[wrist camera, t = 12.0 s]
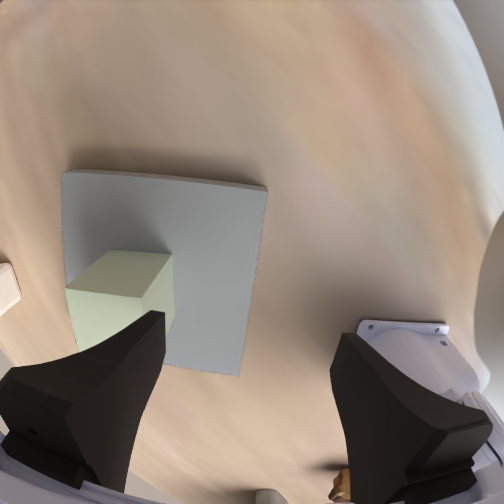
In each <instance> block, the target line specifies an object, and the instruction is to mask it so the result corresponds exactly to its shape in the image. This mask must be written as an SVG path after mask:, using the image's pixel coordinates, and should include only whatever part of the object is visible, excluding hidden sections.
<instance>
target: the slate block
mask: <svg viewBox="0 0 504 504" xmlns="http://www.w3.org/2000/svg"><path fill="white" fill-rule="evenodd" d="M267 196H268V190H267V187H263V186H256V185H249V184H242V183H234V182H226V181H218V180H210V179H201V178H192V177H183V176H173V175H162V174H151V173H139V172H126V171H111V170H94V169H76V170H71V171H66V172H62V234H63V251H64V263H65V274H66V283H67V285H68V284H69V283H71V282H72V281H73V280H74V279H75V278H76V277H78V276H79V275H80V274H81V273H82V272H83V271H85V270H86V269H87V268H88V267H89V266H91V265H92V264H93V263H94V262H95V261H97V260H98V259H99V258H100V257H101V256H103V255H104V254H105V253H106V252H108V251H109V250H121V251H135V252H149V253H164V254H172V257H173V285H174V305H175V316H174V318H173V321H172V323H171V325H170V328H169V330H168V332H167V335H166V354H165V358H164V361H163V364H165V365H170V366H175V367H180V368H186V369H192V370H198V371H204V372H210V373H217V374H224V375H231V376H239V372H240V366H241V360H242V354H243V348H244V341H245V335H246V329H247V323H248V317H249V310H250V304H251V298H252V292H253V285H254V279H255V273H256V266H257V260H258V254H259V247H260V241H261V234H262V228H263V222H264V215H265V209H266V202H267ZM74 335H75V334H74ZM75 340H76V338H75ZM76 343H77V341H76Z"/></svg>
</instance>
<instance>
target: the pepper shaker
mask: <svg viewBox="0 0 504 504" xmlns="http://www.w3.org/2000/svg"><path fill="white" fill-rule="evenodd" d="M20 299H21V292H20V289H19V286H18V283H17V280H16V277H15V274H14V271H13V268H12V266H11V264H10V263H1V264H0V316H1V315H2V314H3V313H4V312H6V311H7V310H8V309H9V308H10V307H12V306H13V305H14V304H15V303H17V302H18V301H19V300H20Z"/></svg>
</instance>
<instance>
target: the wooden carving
mask: <svg viewBox="0 0 504 504" xmlns="http://www.w3.org/2000/svg"><path fill="white" fill-rule="evenodd" d="M333 483H334V488H333V489H332V490H331V492H330V494H329V495H328V497H329V499H330V500H332V501H333V502H335V503H350V474H349V469H343V470H341V472H340V473H339V474H338V476H337V477H336V478H335V479H334V480H333Z"/></svg>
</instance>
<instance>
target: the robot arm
mask: <svg viewBox="0 0 504 504" xmlns="http://www.w3.org/2000/svg"><path fill="white" fill-rule="evenodd" d="M370 325H372V327H370V328H368V327H369V326H370ZM436 328H437V329H436ZM435 329H436V330H435ZM448 330H449V326H448V325H447V324H439V323H414V322H394V321H378V320H363V321H361V322H360V324H359V326H358V329H357V332H356V334H355V333H342V336H341V339H340V342H339V345H338V348H337V351H336V354H335V357H334V359H333V362H332V365H331V368H330V377H331V385H332V391H333V395H334V398H335V402H336V405H337V409H338V412H339V416H340V419H341V423H342V427H343V430H344V434H345V439H346V446H347V453H348V462H349V474H350V503H327V504H504V423H503V421H502V420H501V418H500V417H499V415H498V414H497V413H496V411H495V410H494V409H493V407H492V406H491V405H490V403H489V402H488V401H487V400H486V398H485V397H484V396H483V395H482V394H481V393H480V386H479V381H478V377H477V375H476V373H475V371H474V370H473V368H472V367H471V366H470V364H469V363H468V362H467V361H466V359H465V358H464V357H463V356H462V354H461V353H460V352H459V351H458V349H457V348H456V347H455V346H454V345H453V343H452V342H451V341H450V340H449V339H448V337H447V336H446V335H447V332H448ZM165 354H166V329H165V312H161V311H155V310H150V311H148V312H147V313H146V314H144V315H143V316H141V317H140V318H138V319H137V320H136V321H134V322H133V323H131V324H130V325H128V326H127V327H125V328H124V329H122V330H121V331H119V332H118V333H116V334H114V335H113V336H111V337H109V338H108V339H106V340H104V341H102V342H101V343H99V344H97V345H95V346H93V347H90V348H88V349H86V350H84V351H81V352H79V353H76V354H73V355H70V356H67V357H65V358H62V359H58V360H54V361H51V362H46V363H41V364H36V365H29V366H21V367H12V368H11V369H10V370H9V371H8V372H7V373H6V375H5V376H4V377H3V378H2V379H1V381H0V415H1V417H2V418H3V420H4V422H5V424H6V425H7V427H8V429H9V430H10V431H9V433H8V434H7V435H6V436H5V435H4V434H3V433H2V432H1V431H0V504H164V503H159V502H155V501H150V500H146V499H142V498H138V497H135V496H130V495H127V494H124V489H125V483H126V477H127V472H128V467H129V463H130V458H131V453H132V449H133V445H134V441H135V437H136V434H137V430H138V426H139V423H140V420H141V417H142V414H143V411H144V409H145V407H146V404H147V402H148V400H149V397H150V395H151V393H152V390H153V388H154V386H155V384H156V381H157V379H158V377H159V374H160V372H161V368H162V365H163V361H164V358H165Z"/></svg>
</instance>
